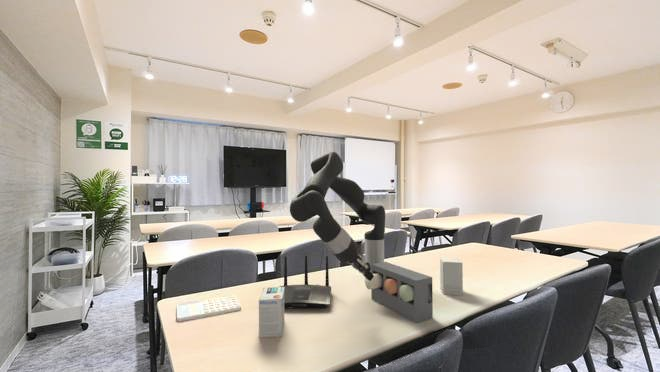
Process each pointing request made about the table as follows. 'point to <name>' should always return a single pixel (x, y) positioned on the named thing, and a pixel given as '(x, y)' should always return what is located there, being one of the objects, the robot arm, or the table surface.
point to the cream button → (375, 281)
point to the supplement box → (451, 276)
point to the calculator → (207, 308)
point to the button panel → (412, 309)
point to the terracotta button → (391, 286)
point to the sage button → (407, 292)
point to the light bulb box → (271, 312)
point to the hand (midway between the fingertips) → (370, 277)
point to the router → (306, 292)
